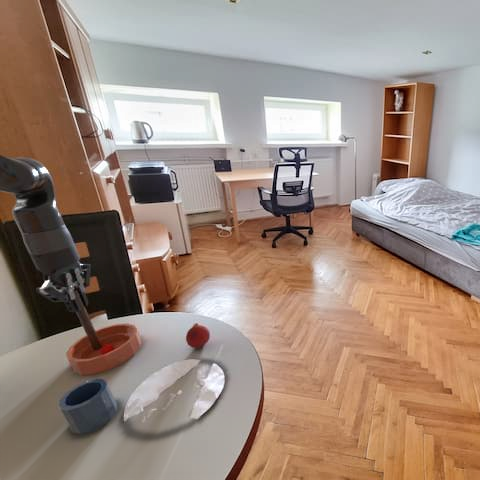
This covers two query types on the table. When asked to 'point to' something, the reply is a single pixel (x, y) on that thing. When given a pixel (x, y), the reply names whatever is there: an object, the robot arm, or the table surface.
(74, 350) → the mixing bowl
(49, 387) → the table surface
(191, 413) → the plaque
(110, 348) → the tomato
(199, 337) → the onion
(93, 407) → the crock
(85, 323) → the stick
